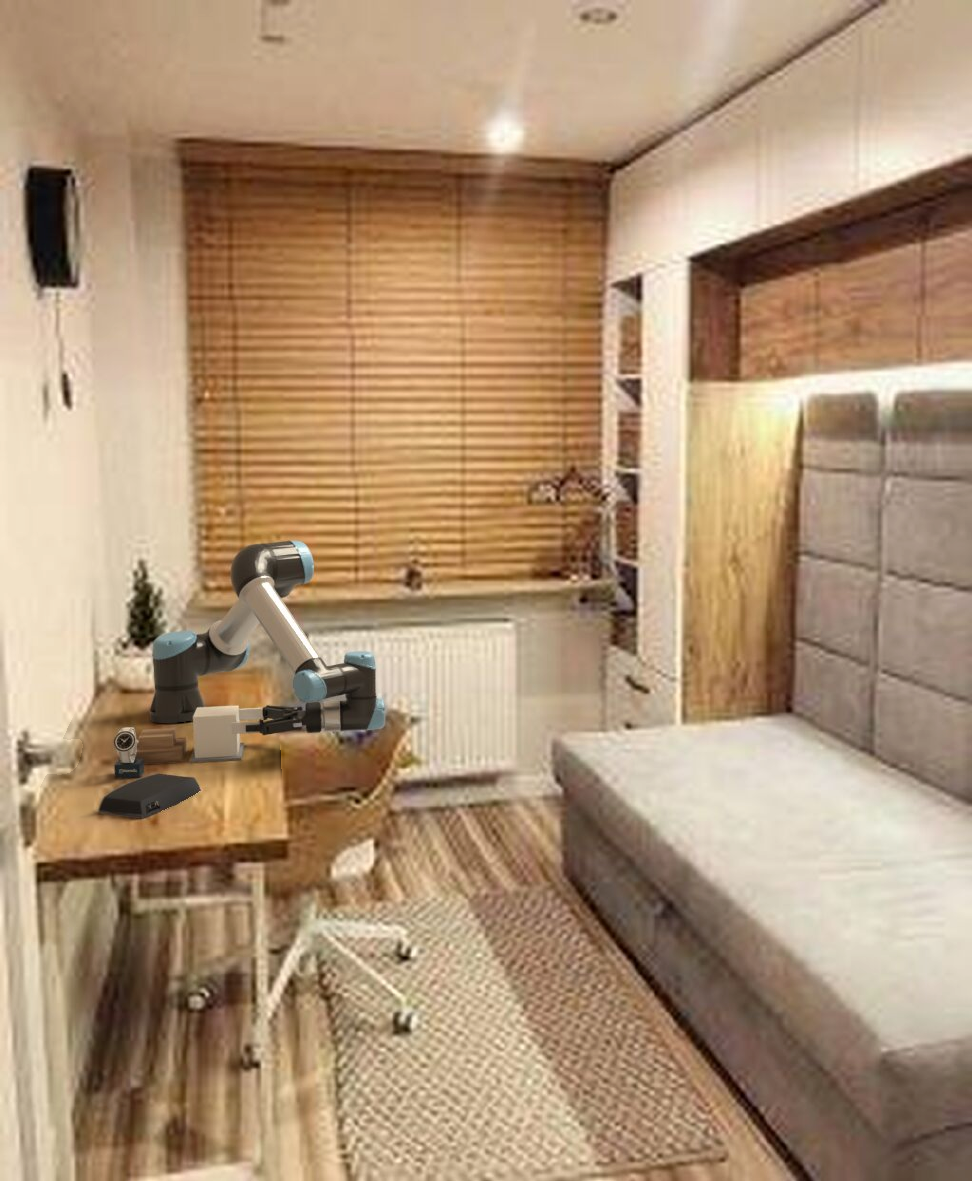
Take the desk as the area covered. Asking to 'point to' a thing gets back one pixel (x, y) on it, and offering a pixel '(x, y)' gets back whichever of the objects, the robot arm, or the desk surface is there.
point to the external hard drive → (148, 795)
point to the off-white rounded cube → (215, 731)
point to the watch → (127, 755)
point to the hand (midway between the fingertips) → (233, 721)
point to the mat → (215, 759)
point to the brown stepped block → (160, 746)
